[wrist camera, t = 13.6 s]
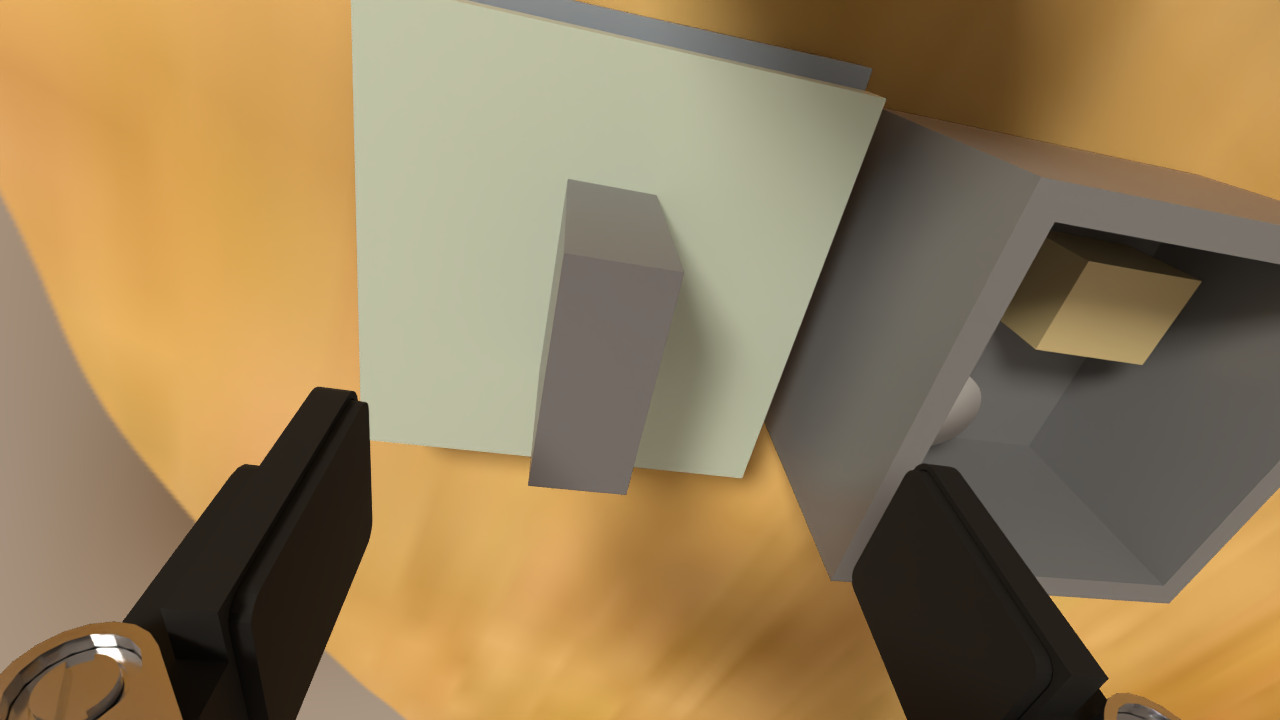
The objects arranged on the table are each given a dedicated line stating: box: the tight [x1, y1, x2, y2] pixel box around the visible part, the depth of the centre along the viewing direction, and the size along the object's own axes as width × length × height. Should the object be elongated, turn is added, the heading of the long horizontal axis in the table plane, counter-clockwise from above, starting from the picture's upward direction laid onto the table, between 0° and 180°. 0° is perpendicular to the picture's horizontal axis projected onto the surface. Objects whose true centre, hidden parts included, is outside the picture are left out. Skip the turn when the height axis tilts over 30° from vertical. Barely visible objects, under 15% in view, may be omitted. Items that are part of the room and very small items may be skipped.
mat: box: [469, 0, 873, 91], centre depth 20 cm, size 14×14×1 cm
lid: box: [351, 0, 886, 495], centre depth 17 cm, size 13×13×7 cm
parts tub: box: [764, 108, 1280, 603], centre depth 20 cm, size 12×12×8 cm
